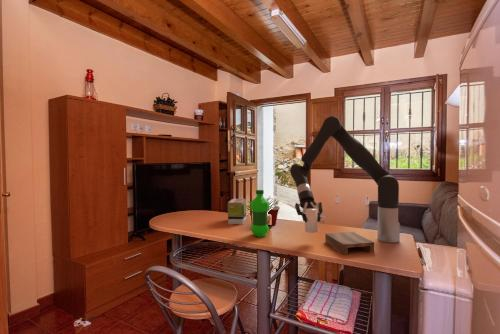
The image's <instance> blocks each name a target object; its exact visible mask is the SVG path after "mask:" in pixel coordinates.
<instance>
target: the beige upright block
mask: <svg viewBox="0 0 500 334" xmlns="http://www.w3.org/2000/svg"><path fill="white" fill-rule="evenodd" d="M316 208H317V207H316ZM316 208H306V209H305V215H306V218H307V222H305V221H304V223H305V224H304V227H305V228H304V229H305V232H306V233H311V234H313V233H315V234H316V233H318V232H319V231H318V229H319V228H318V224H319V222H318V216H317V210H318V208H317V209H316Z"/></svg>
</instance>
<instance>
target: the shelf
mask: <svg viewBox="0 0 500 334" xmlns="http://www.w3.org/2000/svg"><path fill="white" fill-rule="evenodd" d="M324 237H325V244H327V245H328V246H330V247H331V248H332V249H334V250H336V251H337V252H339V253H341V254H342V255H344V256H345V255H348V254H349V248H361V249H363V250H365V251H366V252H368V253H375V242H374V241H373V240H370V239H368V238H367V237H364V236H362V235H360V234H358V233H356V232H354V231H345V232H343V231H342V232H330V233H329V232H328V233H325V235H324Z"/></svg>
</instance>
